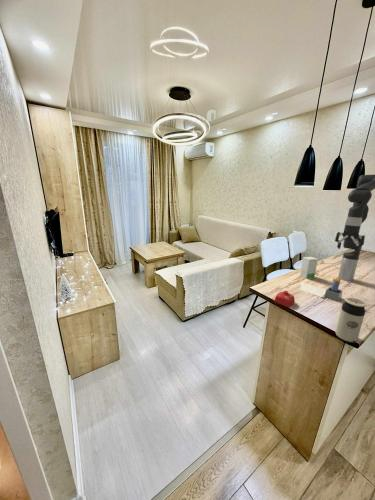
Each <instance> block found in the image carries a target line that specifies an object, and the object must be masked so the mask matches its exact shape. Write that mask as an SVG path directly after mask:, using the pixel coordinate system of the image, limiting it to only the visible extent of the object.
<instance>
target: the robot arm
mask: <svg viewBox="0 0 375 500" xmlns="http://www.w3.org/2000/svg"><path fill="white" fill-rule="evenodd" d="M357 179H358V180H357V181H356V182H357V183H356V188H354V189H352V190H351V191H350V192H349V193H348V196H347V200H348V202H350V203H353V204H352V206H350V207H349V209H348V212H347V213H348V214H347V217H346V220H345V222H344V223H345V224H344V228H343V232H340V231H339V232H337V233H336V236H335V239H334V242H336V243H337V246H336V247H337V249H339V250H340V249H341V246H343V248H344V249H349V250H353V251H350V252H349V251H348V252H344V253H343V255H342V259H341V263H340V267H339V272H338V274H337V275H338V276H337V277H338V278H340V279H341V280H342V281H345V282H349V281H351V282H353V281H354V279H355V278H354V277H355V274H356V271H357V267H358V263H359V259H360V258H359V257H360V253H361V251H362V248H363V246H364V244H365V239H366V235H365V234H364V235H362V234H360V231H361V225H362V224H363V223H364V222H365V221H366V220H367V219H368V214H369V211H370V209H369V206H368V203H369V202H370V201H371V198H372V196H373V193H372V191H373V190H375V174H360V175H359V176H358V178H357ZM341 236H342V238H341V239H340V237H341ZM339 239H340V240H339ZM342 242H343V243H342ZM342 244H343V245H342Z"/></svg>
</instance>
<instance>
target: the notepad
mask: <svg viewBox="0 0 375 500" xmlns="http://www.w3.org/2000/svg"><path fill="white" fill-rule="evenodd" d="M299 285H300V291H302V292H305V293H308V294H309V295H310V294H311V295H313V296H315V297H317V298H320V299H324V300H325V298H326V296H325V292H326V290H327V289H325V288H323V287H319V286H315V285H313V284H308V283H307V282H303V281H301V282H300V283H299Z"/></svg>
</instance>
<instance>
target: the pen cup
mask: <svg viewBox="0 0 375 500" xmlns="http://www.w3.org/2000/svg"><path fill="white" fill-rule="evenodd" d="M330 290H331V286H329V287H327V289H326V292H325V296H326V297H325V298H326V299H330V300H331V301H332V300H333V301H334V302H339V301H340V300H341V298H342V295H343V290H342V289H339V288H338V292H337V293H335V292H332V291H330Z"/></svg>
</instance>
